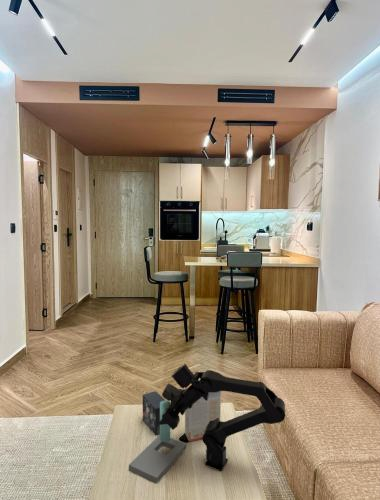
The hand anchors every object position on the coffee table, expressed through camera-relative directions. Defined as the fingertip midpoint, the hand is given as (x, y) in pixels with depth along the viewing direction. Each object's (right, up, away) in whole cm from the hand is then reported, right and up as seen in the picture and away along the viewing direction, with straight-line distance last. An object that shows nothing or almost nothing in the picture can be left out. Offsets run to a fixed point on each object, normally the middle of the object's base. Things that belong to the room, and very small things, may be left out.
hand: (161, 420), depth 126 cm
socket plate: (-1, -13, -3) cm, 13 cm away
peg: (+1, -7, 0) cm, 7 cm away
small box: (-4, -12, +18) cm, 22 cm away
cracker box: (+16, -12, +12) cm, 23 cm away
